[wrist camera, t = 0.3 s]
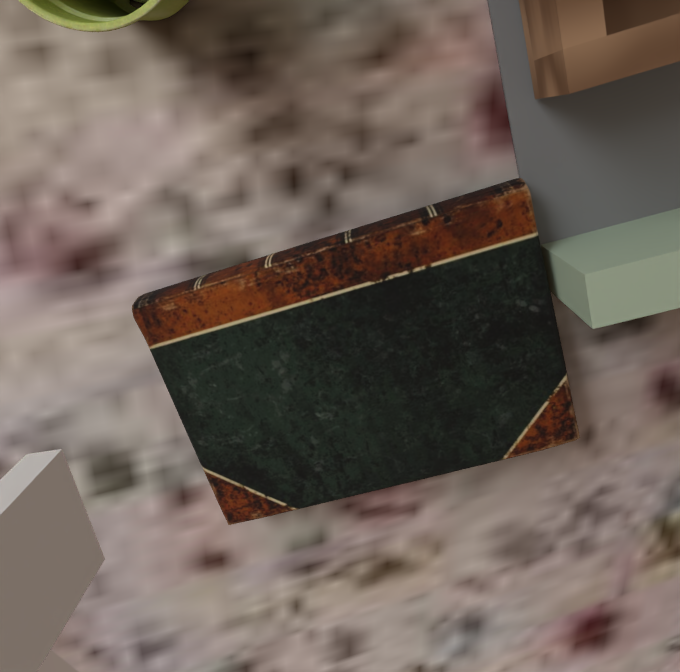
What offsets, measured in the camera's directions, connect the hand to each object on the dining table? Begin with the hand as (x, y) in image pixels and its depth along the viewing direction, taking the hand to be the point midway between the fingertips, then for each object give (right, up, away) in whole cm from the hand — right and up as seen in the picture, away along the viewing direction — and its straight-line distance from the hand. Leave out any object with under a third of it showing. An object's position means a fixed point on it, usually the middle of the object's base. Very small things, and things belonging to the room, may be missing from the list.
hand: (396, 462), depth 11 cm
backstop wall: (+18, +8, +25) cm, 32 cm away
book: (0, +1, +29) cm, 29 cm away
